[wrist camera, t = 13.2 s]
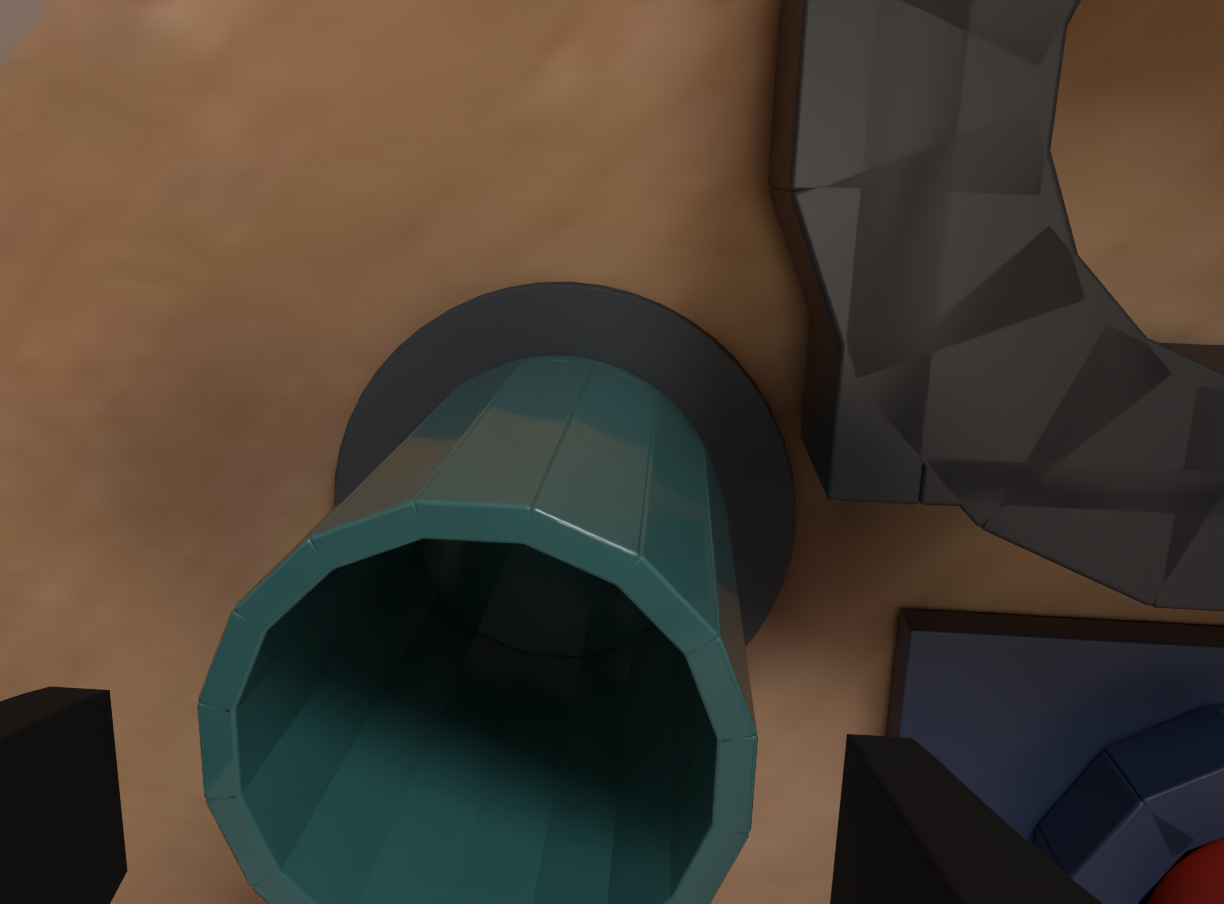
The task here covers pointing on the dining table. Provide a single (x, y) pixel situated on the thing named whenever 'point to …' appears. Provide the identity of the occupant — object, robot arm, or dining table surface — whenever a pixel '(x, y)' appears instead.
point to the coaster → (623, 339)
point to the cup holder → (980, 301)
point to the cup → (497, 665)
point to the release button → (1194, 878)
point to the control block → (1074, 734)
